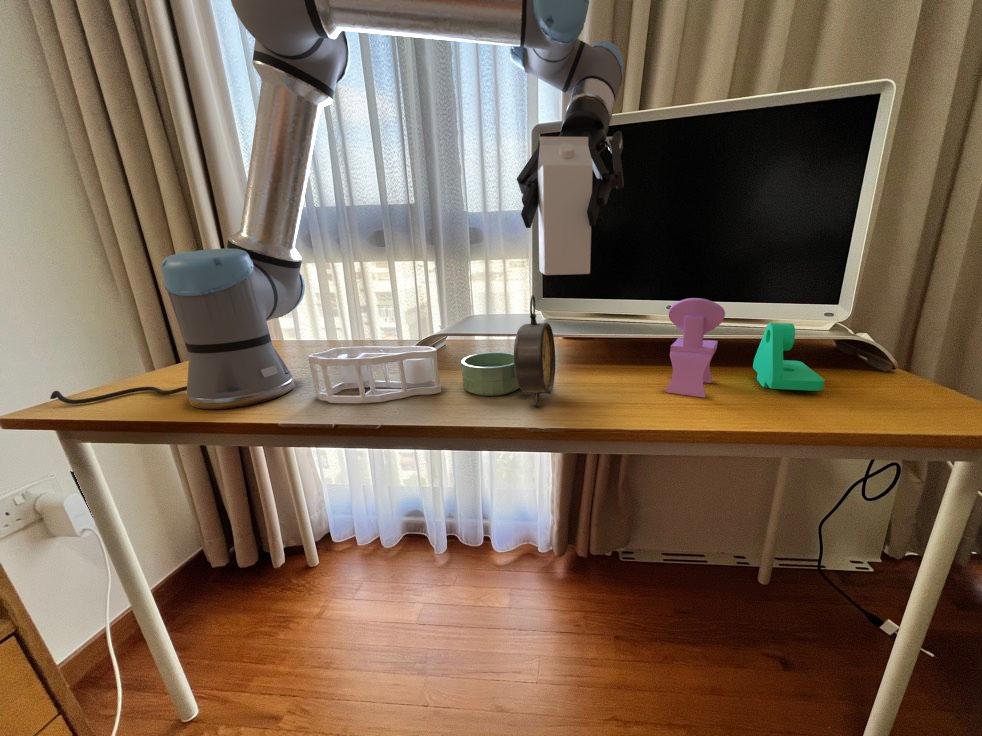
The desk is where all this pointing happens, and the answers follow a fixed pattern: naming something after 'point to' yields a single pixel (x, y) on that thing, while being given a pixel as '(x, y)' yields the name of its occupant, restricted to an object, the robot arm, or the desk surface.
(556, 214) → the milk carton
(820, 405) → the desk surface
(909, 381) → the desk surface
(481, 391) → the bowl
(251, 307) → the robot arm
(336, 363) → the white wireframe cage
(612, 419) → the desk surface
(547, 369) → the alarm clock
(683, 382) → the toy chair
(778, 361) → the camera mount
